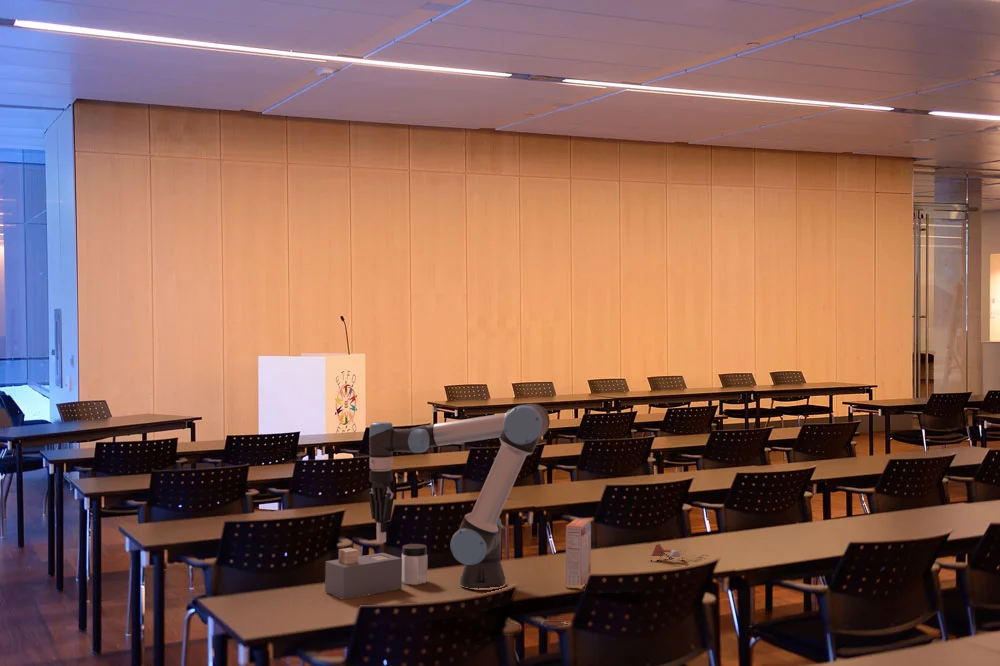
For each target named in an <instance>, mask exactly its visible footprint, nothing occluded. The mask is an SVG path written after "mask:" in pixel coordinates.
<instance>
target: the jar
mask: <svg viewBox="0 0 1000 666" xmlns="http://www.w3.org/2000/svg"><path fill="white" fill-rule="evenodd" d="M427 547H428V546H427V545H426V544H421V543H407V544H404V545H403V546H402V553H401V558H402V583H403V584H404V585H410V584H411V586H419V585H423V584H427V583H428V556H429V555H428V554H427V552H428V549H427ZM426 582H427V583H426ZM422 583H423V584H422ZM418 584H419V585H418Z"/></svg>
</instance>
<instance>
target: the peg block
mask: <svg viewBox="0 0 1000 666" xmlns="http://www.w3.org/2000/svg"><path fill="white" fill-rule="evenodd" d="M377 556H384V557H387V558H386V559H379V560H377V559H373V558H371V557H377ZM324 575H325V578H324V579H325V582H324V583H325V584H324V588H325V589H324V590H325V591H324V592H327V593H329V594H328V595H330V594H332V595H331V596H333V595H334V596H333V597H335V596H336V597H335V598H338V597H339V598H338V599H340V598H342V599H341V600H343V599H345V600H349V599H348V598H350V599H354V597H356V598H359V597H358V596H361V597H364V596H363V595H367V596H369V595H368V594H372V595H375V594H374V593H378V594H381V593H380V592H383V593H388V592H387V591H389V592H393V590H394V591H399V590H398V589H400V590H402V587H403V586H402V583H403V582H402V557H399V556H395V555H392V554H388V553H386V552H380V553H372V554H367V555H358V563H354V564H347V565H345V564H342V563H339V558H338V559H333V560H332V559H331V560H326V561H325V574H324ZM327 593H326V594H327Z"/></svg>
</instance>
